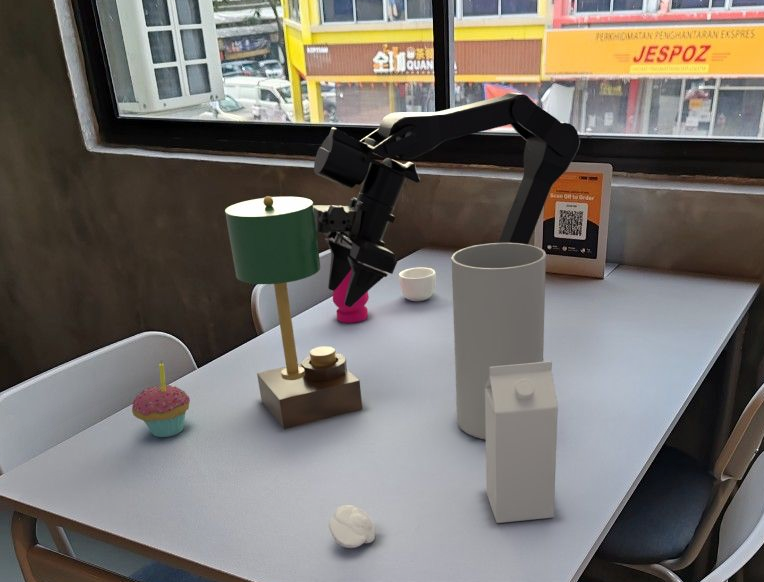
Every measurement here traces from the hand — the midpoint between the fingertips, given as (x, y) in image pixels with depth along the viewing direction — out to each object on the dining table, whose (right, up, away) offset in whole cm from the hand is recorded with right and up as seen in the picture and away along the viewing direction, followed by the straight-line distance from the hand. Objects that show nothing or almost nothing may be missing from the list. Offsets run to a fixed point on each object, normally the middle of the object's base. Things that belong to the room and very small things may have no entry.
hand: (339, 297), depth 129 cm
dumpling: (+4, -37, -30) cm, 48 cm away
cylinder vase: (+24, -20, -6) cm, 32 cm away
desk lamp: (-7, -13, -3) cm, 15 cm away
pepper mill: (0, +5, +39) cm, 39 cm away
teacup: (+14, +11, +48) cm, 51 cm away
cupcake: (-27, -21, -1) cm, 34 cm away
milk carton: (+25, -32, -26) cm, 48 cm away
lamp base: (-5, -16, +4) cm, 18 cm away
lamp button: (-3, -10, +1) cm, 10 cm away
